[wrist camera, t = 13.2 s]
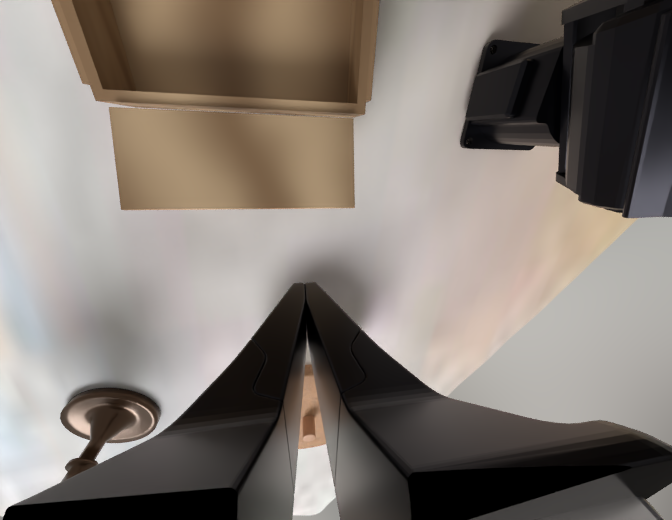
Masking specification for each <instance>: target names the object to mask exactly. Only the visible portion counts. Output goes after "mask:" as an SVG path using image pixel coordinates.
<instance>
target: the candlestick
mask: <svg viewBox="0 0 672 520" xmlns="http://www.w3.org/2000/svg"><path fill="white" fill-rule="evenodd" d="M60 419H61V422H62V424H63V425H64V426H65V428H66V429H68V430H69V431H70V432H72V433H73V434H75V435H77V436H79V437H82V438H85V439H88V440H90V442H89V443H88V445H87V446H86V448H85V449H84V451H83V452H82V454H81V455H80V456H79V458H75V459H72V460H70V461H69V462H68V463H67V465H66V466H65V469H66V470H67V471H68V473H67V474H66V476H65V477H64V479H63V480H62V482H63V481H65V480H67V479H69V478H71V477H73V476H75V475H77V474H79V473H81V472H84V471H86V470H88V469H90V468H92V467H94V466H96V465H98V462H97V461H95V459H96V457H97V455H98V454H99V452H100V451H101V449H102V447H103V446H104V444H105V443H123V442H130V441H135V440H138V439H141V438H143V437H145V436H147V435H149V434H150V433H151V432H152V431H153V430H154V429H155V427H156V425H157V423H158V421H159V419H160V410H159V407H158V406H157V405H156V403H155V402H153V401H152V400H151V399H150V398H148V397H146V396H144V395H142V394H139V393H137V392H134V391H130V390H125V389H118V388H99V389H93V390H88V391H85V392H82V393H80V394H78V395H76V396H75V397H74V398H73V399H71V400H70V402H69V403H68V404H67V405H66V406H65V407H64V409H63V410H62V412H61V416H60Z"/></svg>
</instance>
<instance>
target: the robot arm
mask: <svg viewBox="0 0 672 520" xmlns="http://www.w3.org/2000/svg"><path fill="white" fill-rule="evenodd" d="M563 24H564V36H563V37H560V38H558V39H555V40H552V41H549V42H547V43H544V44H541V45H540V44H531V43H521V42H512V41H503V40H493V41H491V42H489V43H487V44H486V46H485V47H484V49H483V52H482V56H481V60H480V64H479V68H478V72H477V76H476V77H475V80H474V85H473V89H472V93H471V97H470V101H469V105H468V109H467V113H466V121H465V125H464V129H463V133H462V137H461V141H460V145H461V147H462V148H470V149H503V150H531V149H533V148H534V147H535V146H550V147H559V167H558V172H556V181H557V182H558V183H560V184H562V185H563V186H565V187H567V188H569V189H570V190H571V191H573V192H574V193H576V194H578V195H579V198H578V200H579V201H581V202H583V203H585V204H588V205H592V206H596V207H600V208H604V209H607V210H611V211H614V212H619V213H622V216H623V217H625V218H642V217H672V0H582V1H580V2H578V3H576V4H574V5H572V6H571V7H569V8H567V9H565V10H563V11H562V25H563ZM491 47H492V48H493V52H492V54H491V53H490V49H491ZM468 138H469V143H468V144H467V143H466V141H467V139H468ZM307 340H308V347H309V353H310V358H311V363H312V369H313V374H314V379H315V385H316V390H317V396H318V401H319V406H320V412H321V417H322V423H323V428H324V433H325V439H326V444H327V450H328V455H329V460H330V466H331V471H332V476H333V482H334V486H335V493H336V498H337V503H338V509H339V514H340V520H665V519H664V518H663V517H662V516H661V515H660V514H659V513H658V512H657V511H656V510H655V509H654V507H653V506H652V505H651V504H650V503H649V502H648V501H647V500H646V499H647V498H649V497H650V496H652V495H654V494H655V493H657V492H658V491H660V490H661V489H663V488H664V487H666V486H667V485H669V484H671V483H672V446H671V445H669V444H667V443H665V442H663V441H661V440H659V439H657V438H655V437H653V436H650V435H648V434H646V433H643V432H641V431H637V430H635V429H631V428H628V427H625V426H622V425H619V424H615V423H611V422H608V421H602V420H598V421H589V422H583V423H573V424H566V423H553V422H547V421H540V420H536V419H532V418H527V417H523V416H519V415H515V414H511V413H507V412H503V411H499V410H495V409H491V408H487V407H483V406H479V405H475V404H471V403H467V402H463V401H459V400H455V399H451V398H448V397H446V396H443V395H441V394H439V393H437V392H436V391H434V390H432V389H431V388H429V387H428V386H427V385H425V384H424V383H423V382H422V381H420V380H419V379H418V378H417V377H415V376H414V375H413V374H412V373H410V372H409V371H408V370H407V369H406V368H404V367H403V366H402V365H401V364H399V363H398V362H397V361H396V360H394V359H393V358H392V357H391V356H390V355H388V354H387V353H386V352H385V351H384V350H383V349H381V348H380V347H379V346H378V345H377V344H376V343H375V342H374V341H373V340H372V339H371V338H370V337H369V336H368V335H367V334H366V333H365V332H364V331H363V330H361V328H360V327H359V326H358V325H357V324H356V323H355V322H354V321H353V320H352V319H351V318H350V317H349V316H348V315H347V314H346V313H345V312H344V311H343V310H342V309H341V308H340V307H339V306H338V305H337V304H336V303H335V302H334V301H333V299H332V298H331V297H330V296H329V295H328V294H327V293H326V292H325V291H324V290H323V289H322V288H321V287H320V286H319V285H318V284H317V283H316V282H309V283H305V284H304V283H294V284H293V285H292V286H291V287H290V289H289V290H288V291H287V293H286V294H285V295H284V297H283V298H282V299H281V300H280V302H279V303H278V304H277V306H276V307H275V308H274V310H273V311H272V312H271V313H270V315H269V316H268V317H267V319H266V320H265V321H264V323H263V324H262V325H261V326H260V328H259V329H258V330H257V332H256V333H255V334H254V336H253V337H252V338H251V340H250V341H249V342H248V343H247V344H246V346H245V347H244V348H243V350H242V351H241V352H240V353H239V354H238V356H237V357H236V358H235V359H234V360H233V362H232V363H231V364H230V365H229V366H228V367H227V368H226V369H225V370H224V371H223V372H222V374H221V375H220V376H219V377H218V378H217V379H216V380H215V381H214V382H213V383H212V384H211V385H210V386H209V387H208V388H207V389H206V390H205V391H204V392H203V393H202V394H201V395H200V396H199V397H198V399H197V400H196V401H195V402H194V403H193V404H192V405H191V406H190V407H189V408H188V409H187V410H186V411H185V412H184V413H183V414H182V415H181V416H180V417H179V418H178V419H177V420H176V421H175V422H173V423H172V424H171V425H170V426H169V427H168V428H166V429H165V430H163V431H162V432H161V433H159V434H158V435H156V436H155V437H153V438H151V439H149V440H147V441H145V442H143V443H141V444H139V445H137V446H135V447H133V448H131V449H129V450H127V451H125V452H123V453H121V454H119V455H116V456H114V457H112V458H110V459H108V460H106V461H104V462H102V463H100V464H98V465H96V466H94V467H92V468H90V469H88V470H86V471H84V472H81V473H79V474H77V475H75V476H73V477H71V478H69V479H67V480H65V481H63V482H61V483H59V484H57V485H55V486H53V487H51V488H48V489H46V490H44V491H42V492H40V493H38V494H36V495H34V496H32V497H30V498H28V499H25V500H23V501H21V502H19V503H17V504H14V505H12V506H10V507H8V508H7V510H6V512H5V515H4V517H3V520H292V515H293V503H294V491H295V479H296V468H297V456H298V444H299V432H300V420H301V408H302V397H303V385H304V373H305V361H306V349H307Z"/></svg>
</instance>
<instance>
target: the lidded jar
mask: <svg viewBox="0 0 672 520" xmlns="http://www.w3.org/2000/svg"><path fill="white" fill-rule="evenodd" d="M324 444H326V439H325V433H324V428H323V423H322V417H321V412H320V406H319V401H318V396H317V390H316V385H315V379H314V374H313V369H312V363H311V358H310V353H309V347H308V340H307V349H306V361H305V373H304V385H303V397H302V408H301V420H300V432H299V444H298V449H304V448H311V447H316V446H321V445H324Z"/></svg>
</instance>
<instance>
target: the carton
mask: <svg viewBox="0 0 672 520" xmlns="http://www.w3.org/2000/svg"><path fill="white" fill-rule="evenodd" d="M51 1H52V4H53V7H54V9H55V12H56V15H57V17H58V20H59V22H60V25H61V28H62V30H63V33H64V36H65V38H66V41H67V44H68V46H69V49H70V52H71V54H72V57H73V59H74V62H75V65H76V67H77V70H78V73H79V75H80V78H81V81H82V83H83V84H88V85H90V86H91V89H92V92H93V95H94V97H95V100H96V101H101V102H107V103H113V104H119V105H125V106H132V107H142V108H163V109H184V110H205V111H226V112H247V113H268V114H289V115H310V116H331V117H352V118H353V117H356V116H360V115H364V114H365V107H366V102H368V101H371V95H372V83H373V71H374V59H375V47H376V36H377V24H378V12H379V0H51Z"/></svg>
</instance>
